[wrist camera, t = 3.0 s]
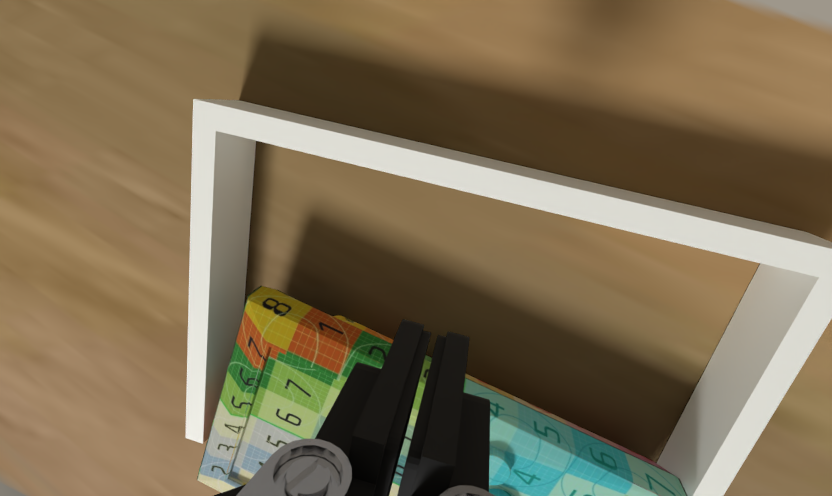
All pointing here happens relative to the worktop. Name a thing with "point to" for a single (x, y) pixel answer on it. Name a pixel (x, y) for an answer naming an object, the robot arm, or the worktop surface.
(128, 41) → the worktop surface
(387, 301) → the worktop surface
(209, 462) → the puzzle game
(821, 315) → the frame
